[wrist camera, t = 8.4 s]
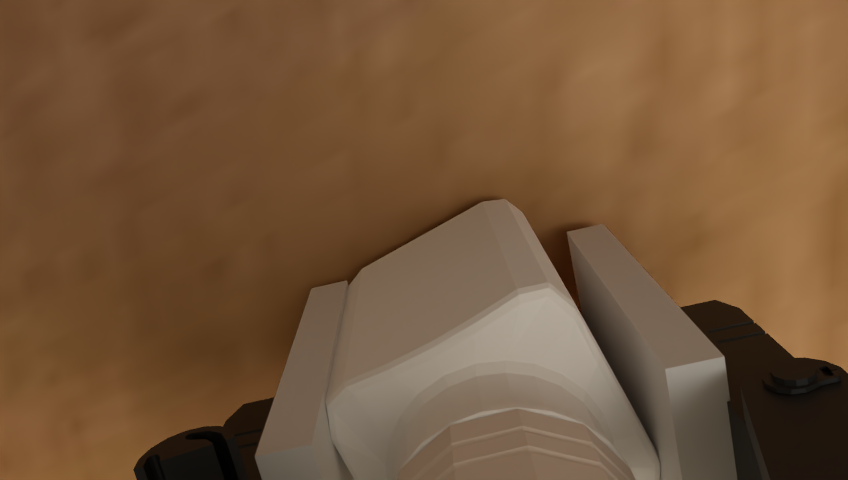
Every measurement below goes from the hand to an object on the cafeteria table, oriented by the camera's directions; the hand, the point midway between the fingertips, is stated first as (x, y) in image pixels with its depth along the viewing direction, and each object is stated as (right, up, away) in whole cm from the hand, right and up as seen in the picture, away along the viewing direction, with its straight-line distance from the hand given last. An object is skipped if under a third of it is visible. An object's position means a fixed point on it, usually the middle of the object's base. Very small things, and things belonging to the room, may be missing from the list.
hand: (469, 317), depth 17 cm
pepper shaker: (0, 0, +1) cm, 1 cm away
